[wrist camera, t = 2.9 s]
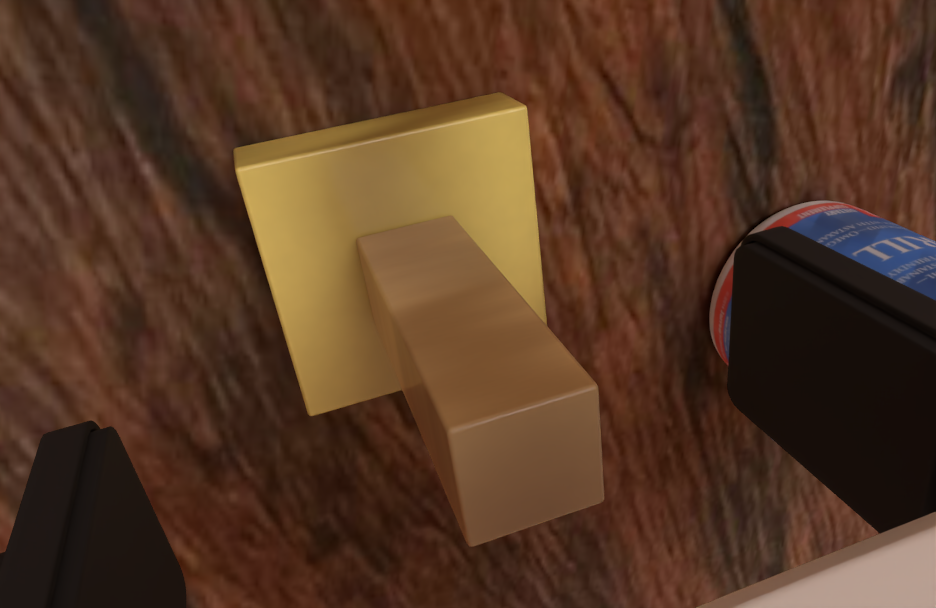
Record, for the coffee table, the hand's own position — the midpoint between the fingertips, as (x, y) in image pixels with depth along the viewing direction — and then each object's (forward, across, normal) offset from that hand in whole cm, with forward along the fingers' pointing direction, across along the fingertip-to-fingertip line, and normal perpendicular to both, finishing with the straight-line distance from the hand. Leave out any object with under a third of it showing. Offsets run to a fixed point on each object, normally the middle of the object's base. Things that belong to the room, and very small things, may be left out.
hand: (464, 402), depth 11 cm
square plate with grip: (+6, 0, 0) cm, 6 cm away
